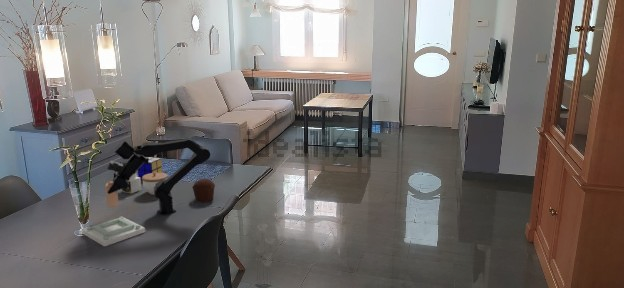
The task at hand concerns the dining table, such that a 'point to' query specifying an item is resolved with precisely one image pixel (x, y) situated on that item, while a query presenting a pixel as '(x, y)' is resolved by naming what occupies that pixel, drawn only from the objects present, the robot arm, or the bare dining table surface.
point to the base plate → (113, 231)
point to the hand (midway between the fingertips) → (108, 191)
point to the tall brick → (111, 195)
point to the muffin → (204, 190)
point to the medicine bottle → (133, 184)
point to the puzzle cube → (150, 167)
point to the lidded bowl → (152, 181)
